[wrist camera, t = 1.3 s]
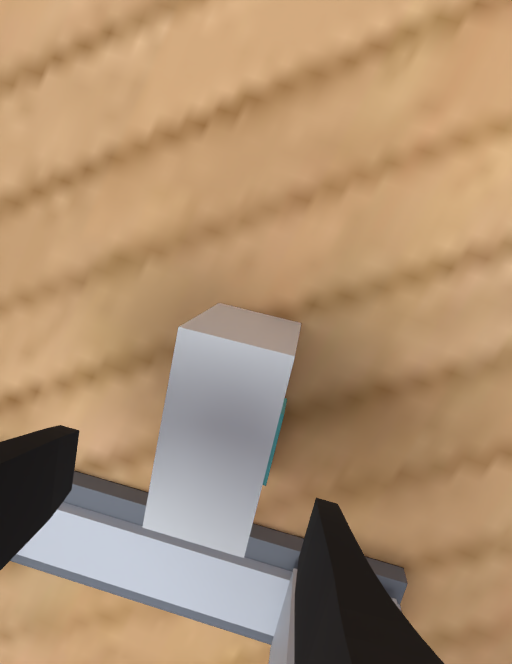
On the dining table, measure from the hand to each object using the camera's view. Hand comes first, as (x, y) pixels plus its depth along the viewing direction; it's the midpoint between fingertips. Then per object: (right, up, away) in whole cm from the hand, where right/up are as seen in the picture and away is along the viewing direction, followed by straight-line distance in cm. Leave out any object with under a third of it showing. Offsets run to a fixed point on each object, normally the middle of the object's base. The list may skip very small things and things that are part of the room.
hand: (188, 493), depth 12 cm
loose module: (+1, +2, +8) cm, 9 cm away
